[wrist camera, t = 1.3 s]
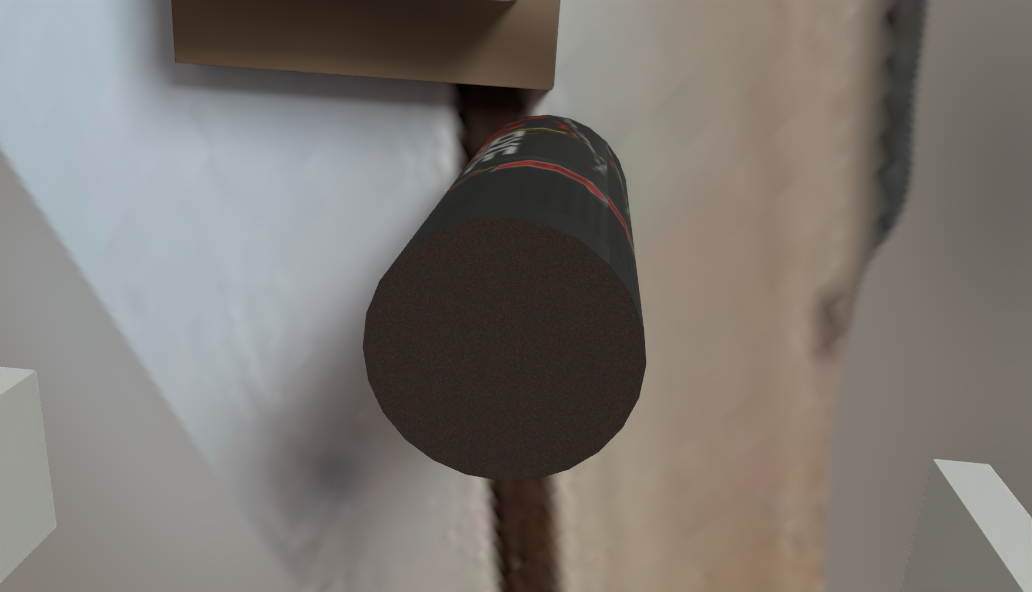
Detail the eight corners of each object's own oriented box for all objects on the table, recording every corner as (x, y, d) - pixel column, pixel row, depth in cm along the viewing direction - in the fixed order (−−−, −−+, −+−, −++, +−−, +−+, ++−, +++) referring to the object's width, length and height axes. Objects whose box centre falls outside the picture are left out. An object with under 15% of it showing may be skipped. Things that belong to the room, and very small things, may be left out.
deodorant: (549, 79, 31) (507, 154, 17) (661, 202, 32) (707, 367, 18) (432, 191, 33) (305, 344, 19) (541, 304, 34) (498, 529, 20)
